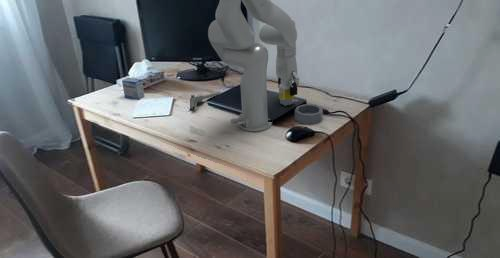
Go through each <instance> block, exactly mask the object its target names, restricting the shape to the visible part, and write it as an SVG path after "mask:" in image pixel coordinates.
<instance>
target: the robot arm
mask: <svg viewBox="0 0 500 258" xmlns="http://www.w3.org/2000/svg"><path fill="white" fill-rule="evenodd" d="M242 3H243V6H244V7H245V8H246V10H247V12H248V14H249V15H250V16H251V18H252V19H255V20H257V21H259V22H260V23H263V24H265V25H263V26H262V27H261V28H260V29H259V32H258V37H259V39H260V41H261V42H262V43H263V44H266V45H271V46H276V58H275V74H276V75H275V76H276V77H277V83H278V84H277V85H278V86H277V88H278V89H279V85H280V84H281V79H283V80H284V81H286V82H288V81H289V83H290V86H291V87H290V96H294V97H295V96H296V95H298V86H299V84H300V77H299V76H298V66H297V65H298V64H297V57H296V55H297V47H296V46H297V38H298V32H297V31H298V30H297V28H296V22H295V21H294V20H293V19H292V17H290V16H289V14H288V13H287V12H286V11H284V10H283V9H282V8H280V7H279V6H278V5H277V4H275V3H274V2H272V1H271V0H219V2H218V5H217V8H216V10H215V20H213V21H212V22H211V23H210V24H209V26H208V30H207V36H208V41H209V42H210V45H211V46H212V48H213V49H214V50H215V52H216V53H217V56H218V57H219V58H220V60H221V61H222V62H223V63H224V64H225V65H226V66H228V67H234V68H239V69H243V70H244V73H243V74H242V76H241V78H240V81H239V84H240V85H239V86H240V97H241V98H240V100H241V113H239V116H238V117H236V118H232V119H230V125H236V126H239V128H240V129H242V130H243V131H246V132H261V131H262V132H263V131H265V130H267V129H269V128H270V127H272V126H273V121H272V122H268V117H269V115H268V93H267V91H268V90H267V89H268V87H267V69H268V61H269V50H268V49H267V47H266V46H264V45H263V44H260V43H257V42H254V40H255V37H254V33H253V31H252V28H251V27H250V25H249V23H248V21H247V19H246V17H245V16H244V14H243V12H242V9H241V4H242ZM291 78H292V79H291ZM292 83H293V84H292Z"/></svg>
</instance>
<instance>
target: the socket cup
mask: <svg viewBox="0 0 500 258" xmlns="http://www.w3.org/2000/svg"><path fill="white" fill-rule="evenodd" d="M323 111H324V109H323V108H322V107H321V106H319V105H317V104H310V103H309V104H308V103H305V104H301V105H297V106H296V108H295V109H294V119H295V121H296V122H297V123H299V124H302V125H315V124H316V125H317V124H318V123H321V122H322V121H323V115H324V112H323Z"/></svg>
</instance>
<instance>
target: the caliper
mask: <svg viewBox="0 0 500 258" xmlns="http://www.w3.org/2000/svg"><path fill="white" fill-rule="evenodd" d="M220 93H222V92H221V91H216V92H212V93H209V94H204V95H196V94H191V95H190V97H189V108H190V110H193V109H197V105H198V103H201V102H203V101H204V100H206V99H211V98H214V96H215V97H217V96H216V95H218V94H220ZM193 107H194V108H193Z"/></svg>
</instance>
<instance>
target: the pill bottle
mask: <svg viewBox="0 0 500 258" xmlns="http://www.w3.org/2000/svg"><path fill="white" fill-rule="evenodd" d="M291 79H293V78H291ZM292 84H293V82H292ZM290 87H291V86H290V83H289V81H288V82H286V81H284V80H283V79H281V84H280V85H279V88H278V95H279V96H278V99H280V100H291V99H293V98H294V99H295V95H294V96H290Z"/></svg>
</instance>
